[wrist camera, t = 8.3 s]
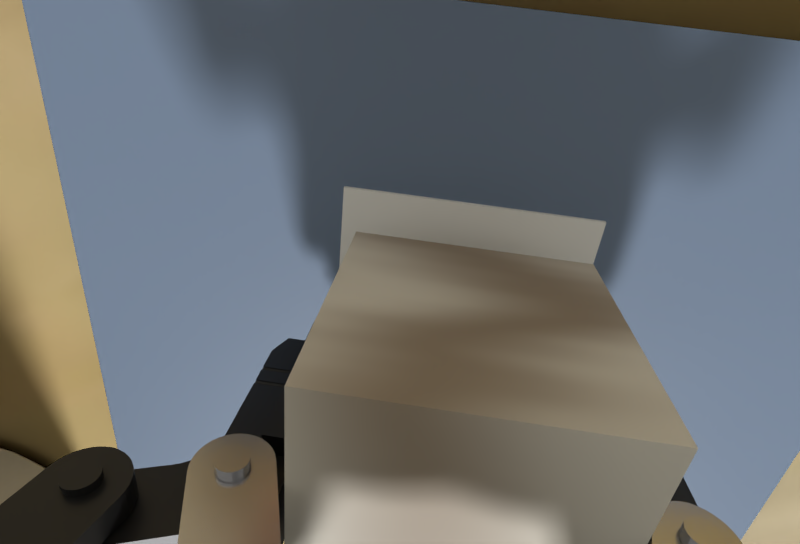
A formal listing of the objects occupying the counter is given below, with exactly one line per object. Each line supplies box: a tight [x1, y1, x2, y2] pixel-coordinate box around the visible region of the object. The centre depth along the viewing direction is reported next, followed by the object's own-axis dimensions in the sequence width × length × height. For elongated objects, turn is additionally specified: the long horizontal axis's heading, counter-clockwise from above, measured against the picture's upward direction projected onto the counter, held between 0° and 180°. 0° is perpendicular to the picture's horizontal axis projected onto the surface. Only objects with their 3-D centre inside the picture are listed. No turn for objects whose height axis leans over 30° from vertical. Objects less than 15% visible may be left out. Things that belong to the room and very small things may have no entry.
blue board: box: [22, 0, 800, 540], centre depth 13 cm, size 20×15×1 cm
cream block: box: [284, 232, 698, 544], centre depth 10 cm, size 5×6×5 cm
